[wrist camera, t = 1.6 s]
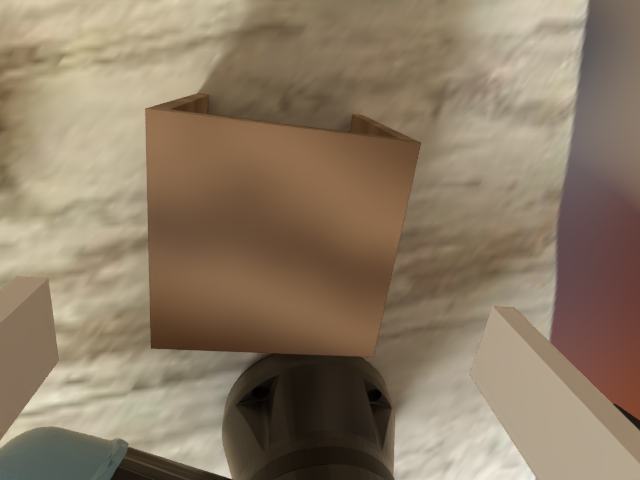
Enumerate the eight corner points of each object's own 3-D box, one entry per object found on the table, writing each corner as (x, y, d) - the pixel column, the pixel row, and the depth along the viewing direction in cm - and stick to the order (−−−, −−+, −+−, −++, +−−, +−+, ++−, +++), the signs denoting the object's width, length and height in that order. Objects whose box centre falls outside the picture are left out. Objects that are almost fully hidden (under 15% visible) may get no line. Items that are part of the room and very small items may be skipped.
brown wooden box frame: (338, 260, 32) (373, 357, 21) (193, 249, 30) (151, 348, 19) (362, 115, 28) (421, 143, 17) (197, 93, 26) (145, 108, 15)
